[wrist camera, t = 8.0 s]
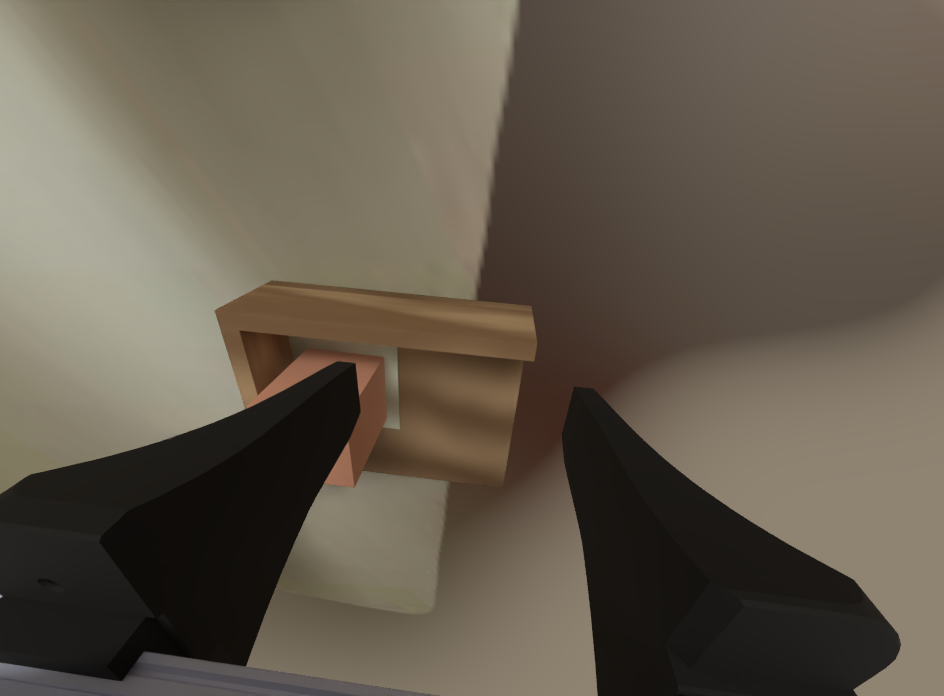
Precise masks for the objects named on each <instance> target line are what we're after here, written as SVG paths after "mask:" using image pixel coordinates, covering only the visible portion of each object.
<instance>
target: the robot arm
mask: <svg viewBox="0 0 944 696" xmlns="http://www.w3.org/2000/svg"><path fill="white" fill-rule="evenodd" d="M360 413H361V408H360V399H359V390H358V380H357V371H356V363H351V362H342V361H337V362H335V363H333V364H331V365H329V366H327V367H325V368H323V369H321V370H319V371H318V372H316V373H314V374H312V375H310V376H309V377H307V378H305V379H303V380H301V381H300V382H298V383H296V384H294V385H292V386H290V387H289V388H287V389H285V390H283V391H281V392H279V393H277V394H275V395H273V396H271V397H269V398H267V399H265V400H263V401H261V402H259V403H257V404H255V405H253V406H251V407H249V408H247V409H245V410H243V411H240V412H238V413H236V414H234V415H231V416H229V417H226V418H224V419H221V420H219V421H217V422H214V423H212V424H209V425H206V426H204V427H201V428H198V429H195V430H192V431H189V432H187V433H184V434H181V435H178V436H175V437H172V438H169V439H167V440H163V441H160V442H157V443H154V444H150V445H147V446H144V447H141V448H137V449H134V450H130V451H126V452H123V453H119V454H116V455H112V456H108V457H104V458H100V459H96V460H92V461H88V462H84V463H79V464H75V465H71V466H66V467H62V468H58V469H54V470H49V471H45V472H40V473H35V474H31V475H29V476H27V477H26V478H24V479H22V480H21V481H19V482H18V483H17V484H15V485H14V486H12V487H11V488H9V489H8V490H6V491H5V492H3V493H2V494H0V696H437V695H431V694H424V693H417V692H411V691H404V690H398V689H391V688H384V687H378V686H371V685H364V684H357V683H351V682H344V681H338V680H331V679H325V678H318V677H311V676H305V675H298V674H291V673H285V672H278V671H271V670H265V669H258V668H251V667H246V665H247V662H248V659H249V656H250V653H251V651H252V648H253V645H254V643H255V640H256V637H257V634H258V632H259V629H260V626H261V623H262V621H263V618H264V615H265V613H266V610H267V608H268V605H269V603H270V600H271V598H272V595H273V593H274V590H275V588H276V585H277V583H278V580H279V578H280V575H281V573H282V570H283V568H284V566H285V563H286V561H287V559H288V556H289V554H290V552H291V549H292V547H293V545H294V542H295V540H296V538H297V536H298V533H299V531H300V529H301V527H302V525H303V522H304V520H305V518H306V516H307V514H308V511H309V509H310V507H311V506H312V504H313V502H314V500H315V498H316V496H317V494H318V493H319V491H320V489H321V488H322V486H323V484H324V482H325V481H326V479H327V477H328V476H329V474H330V472H331V470H332V469H333V467H334V465H335V464H336V462H337V460H338V458H339V457H340V455H341V453H342V451H343V450H344V448H345V446H346V445H347V443H348V441H349V439H350V437H351V435H352V433H353V430H354V428H355V426H356V423H357V420H358V418H359V415H360ZM562 442H563V453H564V463H565V467H566V472H567V477H568V481H569V485H570V490H571V494H572V498H573V503H574V507H575V511H576V515H577V520H578V524H579V529H580V534H581V539H582V545H583V552H584V560H585V568H586V575H587V583H588V593H589V602H590V610H591V621H592V631H593V642H594V653H595V665H596V679H597V692H598V696H857V695H856V694H855V692H854V690H853V689H855V688H856V687H858V686H859V685H861V684H862V683H864V682H865V681H867V680H868V679H870V678H871V677H873V676H874V675H876V674H877V673H879V672H880V671H882V670H883V669H885V668H886V667H887V666H888V665H890V664H891V663H892V662H893V661H894V660H895V659H896V657H897V655H898V653H899V650H900V646H901V643H900V639H899V635H898V633H897V632H896V631H895V630H894V628H893V627H892V626H891V625H890V624H889V622H888V621H887V620H886V619H885V618H884V616H883V615H882V614H881V613H880V611H879V610H878V609H877V608H876V606H875V605H874V604H873V603H872V602H871V600H870V599H869V598H868V597H867V595H866V594H865V593H864V592H863V591H862V589H861V588H860V587H859V586H858V584H857V583H856V582H855V581H854V580H853V579H851V578H850V577H848V576H846V575H844V574H842V573H840V572H838V571H837V570H834V569H833V568H831V567H829V566H827V565H825V564H824V563H821V562H820V561H818V560H816V559H814V558H813V557H811V556H809V555H807V554H805V553H803V552H801V551H800V550H798V549H796V548H794V547H792V546H791V545H789V544H787V543H785V542H784V541H782V540H780V539H779V538H777V537H775V536H774V535H772V534H770V533H768V532H767V531H765V530H764V529H762V528H760V527H759V526H757V525H755V524H754V523H752V522H750V521H749V520H747V519H746V518H744V517H743V516H741V515H740V514H738V513H736V512H735V511H733V510H732V509H730V508H729V507H728V506H726V505H725V504H723V503H722V502H720V501H719V500H717V499H716V498H715V497H713V496H712V495H710V494H709V493H707V492H706V491H705V490H703V489H702V488H700V487H699V486H698V485H696V484H695V483H694V482H692V481H691V480H690V479H688V478H687V477H686V476H685V475H683V474H682V473H681V472H680V471H678V470H677V469H676V468H675V467H673V466H672V465H671V464H670V463H669V462H667V461H666V460H665V459H664V458H663V457H662V456H660V455H659V454H658V453H657V452H656V451H655V450H654V449H653V448H652V447H650V446H649V445H648V444H647V443H646V442H645V441H643V439H642V438H641V437H640V436H639V435H638V434H637V433H636V432H635V431H634V430H633V429H632V428H631V427H630V426H629V425H628V424H627V423H626V422H625V421H624V420H623V419H622V418H621V417H620V416H619V415H618V414H617V413H616V412H615V411H614V410H613V409H612V408H611V407H610V405H609V404H608V403H607V402H606V401H605V400H604V399H603V398H602V397H601V396H600V395H599V394H598V393H597V392H596V391H595V390H594V389H591V388H581V387H574V390H573V394H572V398H571V401H570V405H569V409H568V413H567V417H566V421H565V425H564V428H563V432H562Z"/></svg>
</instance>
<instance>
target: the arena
mask: <svg viewBox="0 0 944 696" xmlns="http://www.w3.org/2000/svg"><path fill="white" fill-rule="evenodd" d="M215 313H216V316H217V320H218V323H219V326H220V329H221V332H222V336H223V339H224V342H225V345H226V349H227V352H228V355H229V358H230V361H231V365H232V368H233V371H234V374H235V377H236V381H237V384H238V387H239V390H240V393H241V397H242V400H243V403H244V406H245V409H247V405H248V404H249V403H250V402H252V401H253V400H254V399H255V398H256V397H257V396H258V395H259V394H260V393H261V392H262V391H263V390H264V389H265V388H266V387H267V386H268V385H269V384H270V383H272V382H273V381H274V380H275V379H276V378H277V377H278V376H279V375H280V374H281V373H282V372H283V371H284V370H285V369H286V368H287V367H288V366H289V365H290V364H292V363H293V362H294V361H295V360H296V359H297V358H298V357H299V356H300V355H301V354H302V353H303V352H304V351H305V350H306V349H307V348H311V349H320V350H328V351H337V352H346V353H355V354H363V355H372V356H381V357H384V368H385V388H386V407H387V419H386V421H385V423H384V425H383V427H382V429H381V432H380V434H379V436H378V438H377V440H376V442H375V444H374V447H373V449H372V451H371V453H370V455H369V457H368V460H367V462H366V464H365V466H364V468H363V470H362V471H370V472H379V473H387V474H395V475H403V476H411V477H420V478H428V479H436V480H444V481H452V482H460V483H469V484H477V485H485V486H493V487H501V488H502V487H503V484H504V478H505V472H506V465H507V460H508V454H509V447H510V441H511V435H512V429H513V424H514V418H515V412H516V405H517V400H518V393H519V387H520V381H521V375H522V369H523V363H524V360H525V361H534V359H535V354H536V348H537V340H536V339H537V338H536V332H535V326H534V320H533V314H532V308H531V306H526V305H515V304H505V303H495V302H485V301H475V300H465V299H454V298H444V297H434V296H424V295H414V294H404V293H393V292H383V291H373V290H363V289H353V288H343V287H332V286H322V285H312V284H302V283H292V282H282V281H270V282H268V283H266V284H264V285H262V286H260V287H258V288H257V289H255V290H253V291H251V292H249V293H247V294H245V295H243V296H241V297H239V298H237V299H235V300H233V301H231V302H230V303H228V304H226V305H224V306H222V307H220V308H218V309H216V310H215Z"/></svg>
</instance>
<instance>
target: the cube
mask: <svg viewBox="0 0 944 696" xmlns="http://www.w3.org/2000/svg"><path fill="white" fill-rule="evenodd" d="M337 361H342V362H351V363H356V371H357V380H358V390H359V399H360V408H361V413H360V415H359V418H358V420H357V423H356V426H355V428H354V430H353V433H352V435H351V437H350V439H349V441H348V443H347V445H346V446H345V448H344V450H343V451H342V453H341V455H340V457H339V458H338V460H337V462H336V464H335V465H334V467H333V469H332V470H331V472H330V474H329V476H328V477H327V479H326V481H325V482H324V484H330V485H338V486H346V487H353V488H354V487H355V485H356V483H357V481H358V479H359V477H360V475H361V472H362V470H363V468H364V466H365V464H366V462H367V460H368V457H369V455H370V453H371V451H372V449H373V447H374V444H375V442H376V440H377V438H378V436H379V434H380V432H381V429H382V427H383V425H384V423H385V421H386V419H387V407H386V388H385V368H384V357H381V356H372V355H363V354H355V353H346V352H337V351H328V350H320V349H311V348H307V349H306V350H305V351H304V352H303V353H302V354H301V355H300V356H299V357H298V358H297V359H296V360H295V361H294V362H293V363H292V364H290V365H289V366H288V367H287V368H286V369H285V370H284V371H283V372H282V373H281V374H280V375H279V376H278V377H277V378H276V379H275V380H274V381H273V382H272V383H270V384H269V385H268V386H267V387H266V388H265V389H264V390H263V391H262V392H261V393H260V394H259V395H258V396H257V397H256V398H255V399H254V400H253V401H252V402H250V403H249V404H248V405H247V408H249V407H251V406H253V405H255V404H257V403H259V402H261V401H263V400H265V399H267V398H269V397H271V396H273V395H275V394H277V393H279V392H281V391H283V390H285V389H287V388H289V387H290V386H292V385H294V384H296V383H298V382H300V381H301V380H303V379H305V378H307V377H309V376H310V375H312V374H314V373H316V372H318V371H319V370H321V369H323V368H325V367H327V366H329V365H331V364H333V363H335V362H337Z"/></svg>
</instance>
